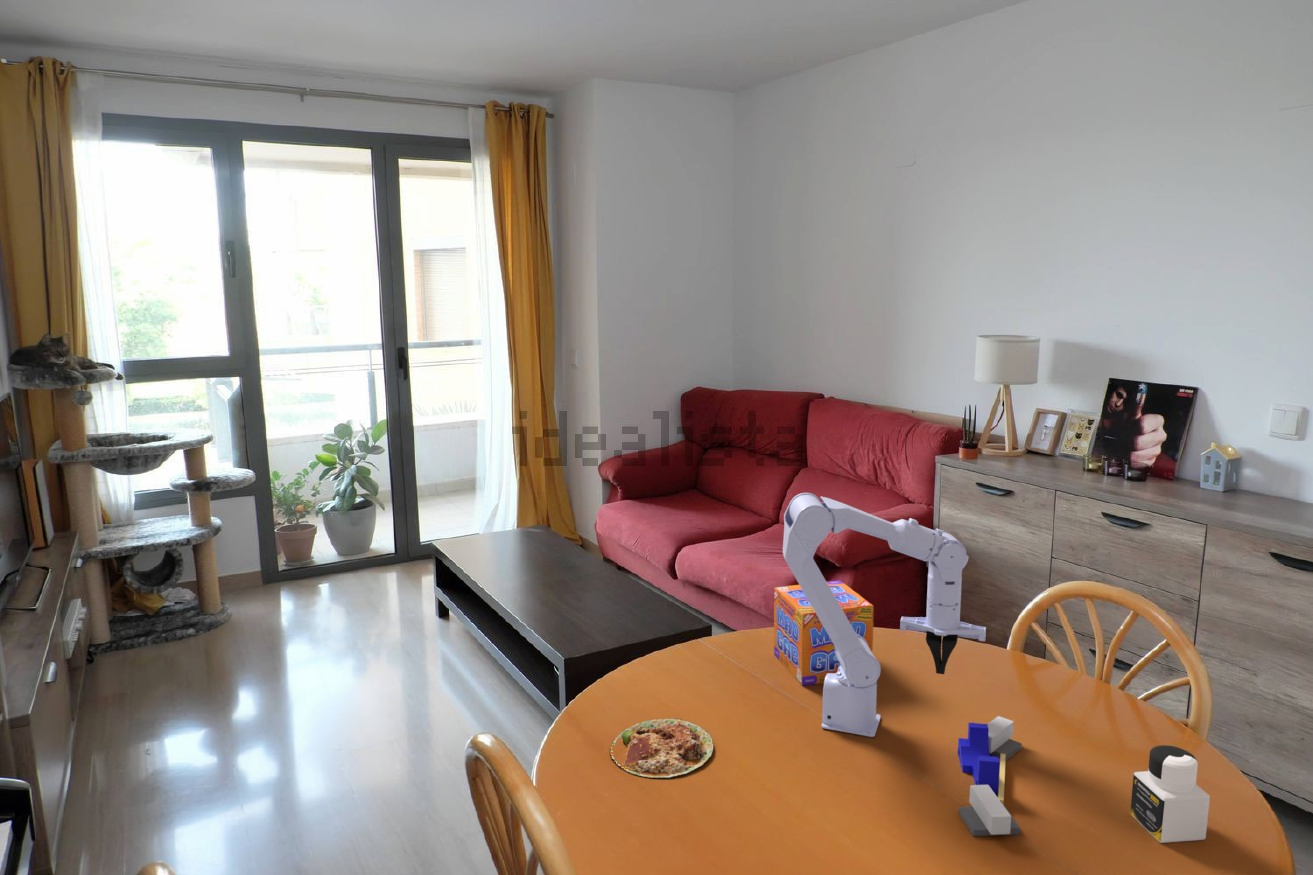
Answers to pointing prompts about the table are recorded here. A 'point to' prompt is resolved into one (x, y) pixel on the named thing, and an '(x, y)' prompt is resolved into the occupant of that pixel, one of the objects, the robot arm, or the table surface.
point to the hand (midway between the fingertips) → (940, 671)
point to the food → (665, 747)
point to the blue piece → (979, 757)
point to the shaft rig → (986, 806)
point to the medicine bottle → (1170, 797)
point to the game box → (814, 631)
